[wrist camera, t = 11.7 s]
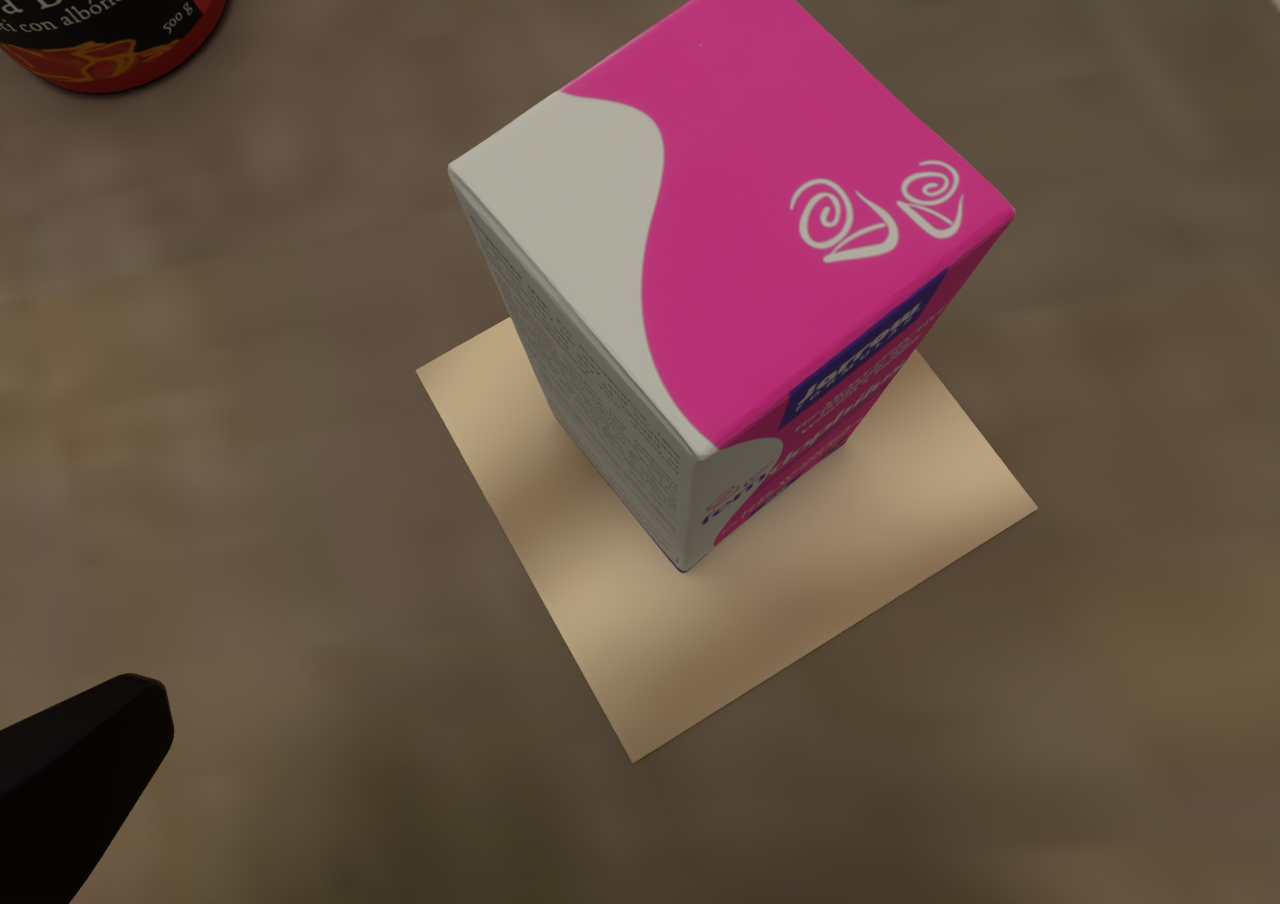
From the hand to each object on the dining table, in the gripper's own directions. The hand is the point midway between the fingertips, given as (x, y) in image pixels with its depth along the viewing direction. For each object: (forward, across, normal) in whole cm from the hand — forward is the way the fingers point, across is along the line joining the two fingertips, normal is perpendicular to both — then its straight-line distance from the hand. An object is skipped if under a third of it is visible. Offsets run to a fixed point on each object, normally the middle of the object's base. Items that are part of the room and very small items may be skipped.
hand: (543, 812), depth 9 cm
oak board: (+15, 0, +3) cm, 15 cm away
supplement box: (+14, 0, +3) cm, 14 cm away
